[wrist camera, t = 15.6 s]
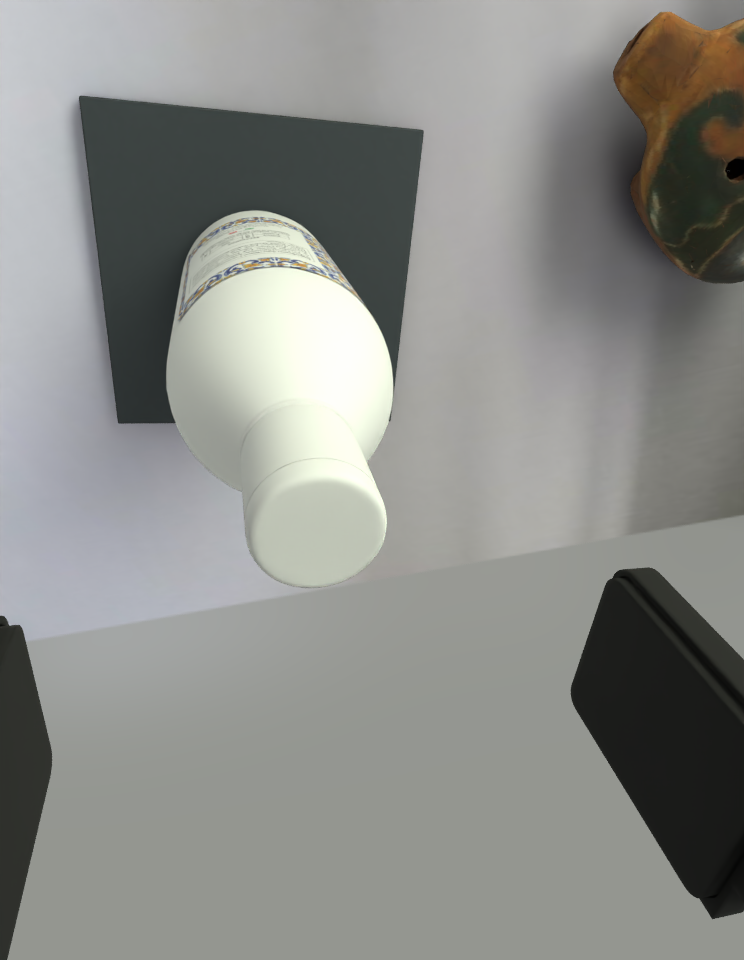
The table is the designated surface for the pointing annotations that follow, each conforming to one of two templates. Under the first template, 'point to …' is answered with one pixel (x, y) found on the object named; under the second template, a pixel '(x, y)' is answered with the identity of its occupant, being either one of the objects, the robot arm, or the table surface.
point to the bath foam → (283, 394)
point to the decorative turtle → (690, 142)
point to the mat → (227, 190)
